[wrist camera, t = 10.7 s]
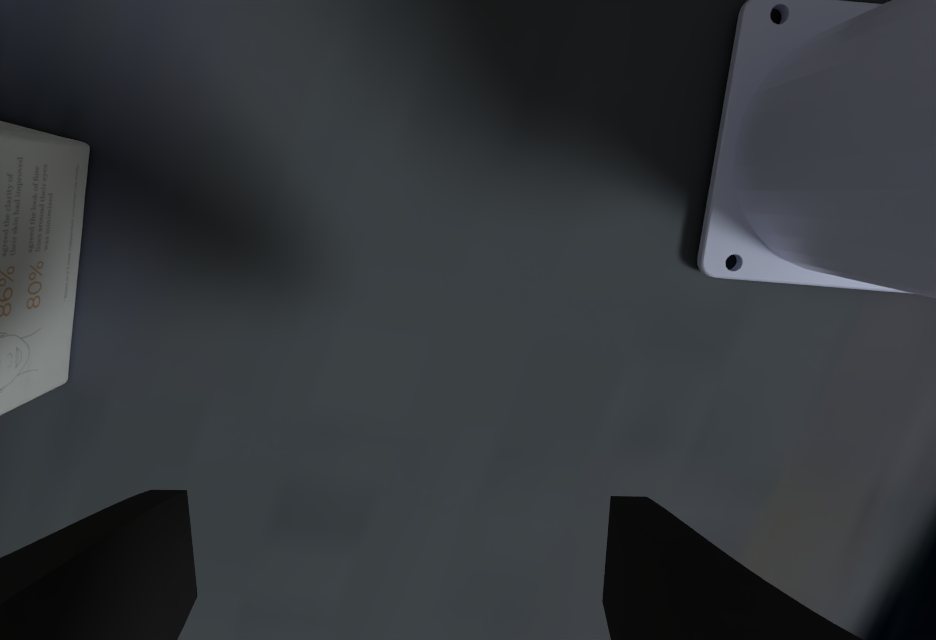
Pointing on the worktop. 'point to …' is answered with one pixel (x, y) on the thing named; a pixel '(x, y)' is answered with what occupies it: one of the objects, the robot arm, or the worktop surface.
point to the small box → (38, 258)
